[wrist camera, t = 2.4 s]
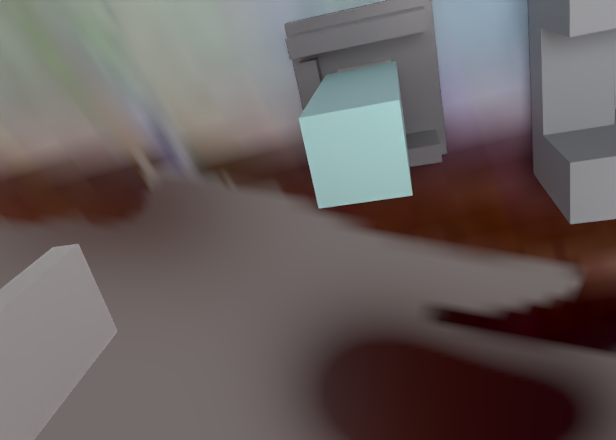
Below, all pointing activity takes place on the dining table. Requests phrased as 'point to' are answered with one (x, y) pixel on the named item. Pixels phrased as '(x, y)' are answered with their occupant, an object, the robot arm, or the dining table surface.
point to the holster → (374, 48)
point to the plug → (357, 136)
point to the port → (574, 104)
